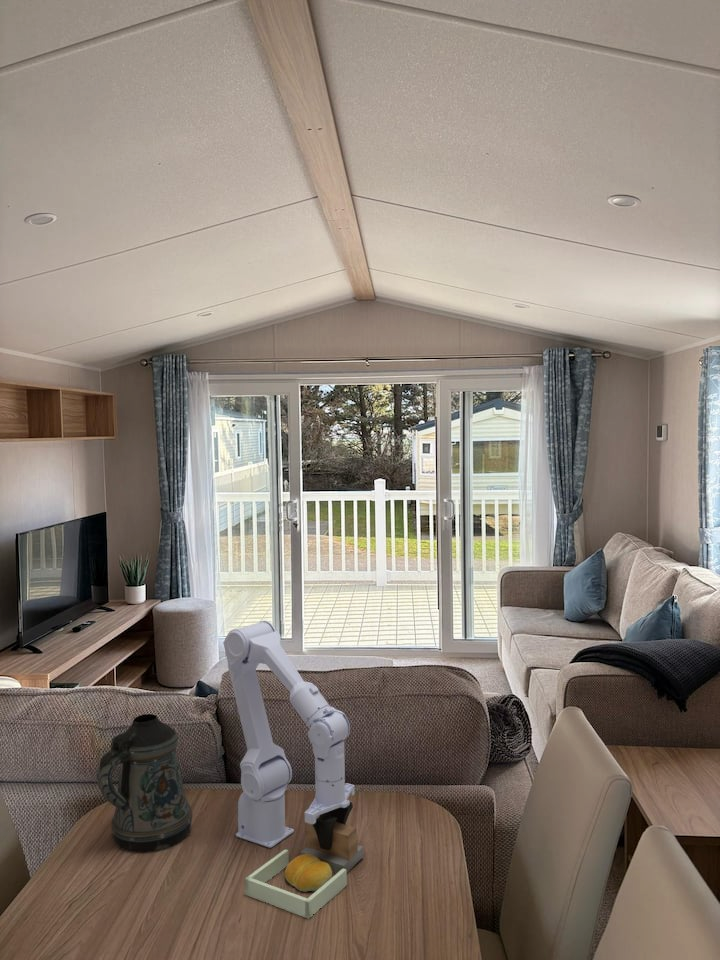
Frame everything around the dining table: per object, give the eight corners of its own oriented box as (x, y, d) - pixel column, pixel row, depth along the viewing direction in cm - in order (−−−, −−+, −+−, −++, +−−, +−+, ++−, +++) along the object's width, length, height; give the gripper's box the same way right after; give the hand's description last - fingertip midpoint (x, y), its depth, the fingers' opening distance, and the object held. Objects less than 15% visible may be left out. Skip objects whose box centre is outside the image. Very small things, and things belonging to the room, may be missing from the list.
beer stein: (204, 817, 176) (201, 705, 174) (167, 865, 157) (164, 739, 155) (133, 812, 179) (130, 701, 177) (89, 858, 160) (84, 734, 158)
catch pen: (245, 894, 146) (244, 878, 146) (285, 864, 157) (285, 849, 156) (308, 919, 139) (308, 902, 139) (346, 885, 149) (346, 869, 149)
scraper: (301, 861, 158) (299, 828, 157) (321, 843, 163) (319, 810, 162) (344, 875, 152) (342, 841, 151) (363, 856, 158) (361, 822, 157)
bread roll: (308, 899, 145) (308, 878, 145) (278, 879, 152) (277, 859, 151) (342, 881, 151) (342, 860, 150) (311, 863, 157) (311, 843, 157)
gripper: (326, 795, 148) (327, 866, 149) (367, 766, 160) (367, 833, 161) (295, 786, 152) (296, 856, 153) (337, 759, 164) (338, 824, 165)
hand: (331, 844), depth 157 cm, fingers open, 3 cm apart
